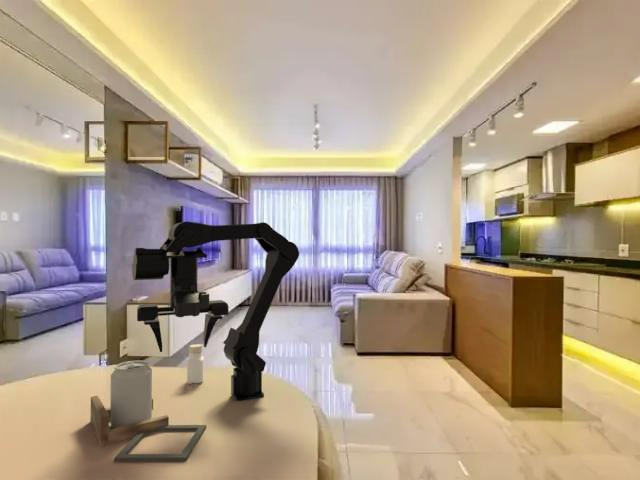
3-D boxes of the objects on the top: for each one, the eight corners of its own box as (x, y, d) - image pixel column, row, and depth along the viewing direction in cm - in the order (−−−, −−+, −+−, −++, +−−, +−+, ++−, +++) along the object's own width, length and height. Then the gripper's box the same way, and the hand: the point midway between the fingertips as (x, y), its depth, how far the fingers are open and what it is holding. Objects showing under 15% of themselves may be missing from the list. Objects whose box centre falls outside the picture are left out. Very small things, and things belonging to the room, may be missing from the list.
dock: (151, 407, 86) (151, 384, 86) (168, 427, 76) (168, 401, 76) (90, 421, 79) (90, 396, 79) (100, 446, 69) (100, 417, 69)
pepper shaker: (188, 379, 104) (188, 344, 105) (203, 378, 105) (203, 343, 106) (186, 384, 100) (187, 347, 101) (202, 383, 101) (203, 346, 102)
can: (119, 436, 73) (120, 372, 73) (104, 424, 78) (104, 364, 78) (158, 422, 78) (158, 363, 79) (141, 412, 83) (142, 356, 83)
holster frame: (145, 428, 76) (145, 425, 76) (206, 427, 76) (206, 424, 76) (113, 461, 64) (113, 457, 64) (186, 461, 64) (186, 457, 64)
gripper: (138, 282, 75) (137, 364, 74) (234, 279, 83) (234, 353, 82) (137, 279, 85) (136, 350, 84) (223, 276, 93) (223, 341, 92)
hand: (183, 349), depth 86 cm, fingers open, 9 cm apart
